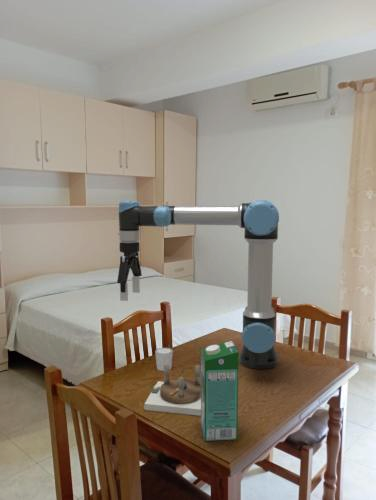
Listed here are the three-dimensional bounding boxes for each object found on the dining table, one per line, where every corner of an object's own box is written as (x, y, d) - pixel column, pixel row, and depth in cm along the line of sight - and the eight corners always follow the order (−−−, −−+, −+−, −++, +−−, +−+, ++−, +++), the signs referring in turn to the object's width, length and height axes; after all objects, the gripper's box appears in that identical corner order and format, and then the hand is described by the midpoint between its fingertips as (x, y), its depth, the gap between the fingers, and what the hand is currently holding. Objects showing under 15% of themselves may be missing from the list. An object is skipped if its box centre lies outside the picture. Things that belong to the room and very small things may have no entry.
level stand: (214, 392, 136) (214, 381, 136) (208, 416, 121) (208, 404, 120) (158, 386, 140) (158, 376, 140) (144, 409, 125) (144, 398, 124)
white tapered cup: (173, 364, 159) (173, 347, 158) (171, 372, 152) (171, 354, 152) (156, 364, 160) (156, 347, 159) (153, 371, 153) (153, 353, 152)
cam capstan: (174, 380, 140) (174, 359, 139) (209, 389, 133) (209, 367, 132) (151, 396, 129) (151, 373, 128) (188, 407, 122) (188, 383, 121)
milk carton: (200, 423, 117) (201, 340, 114) (231, 421, 118) (232, 339, 115) (204, 441, 108) (205, 352, 105) (237, 439, 109) (238, 351, 106)
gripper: (131, 238, 165) (131, 288, 168) (107, 244, 141) (108, 303, 144) (148, 238, 164) (149, 289, 166) (127, 245, 140) (128, 304, 142)
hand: (130, 296), depth 155 cm, fingers open, 13 cm apart
